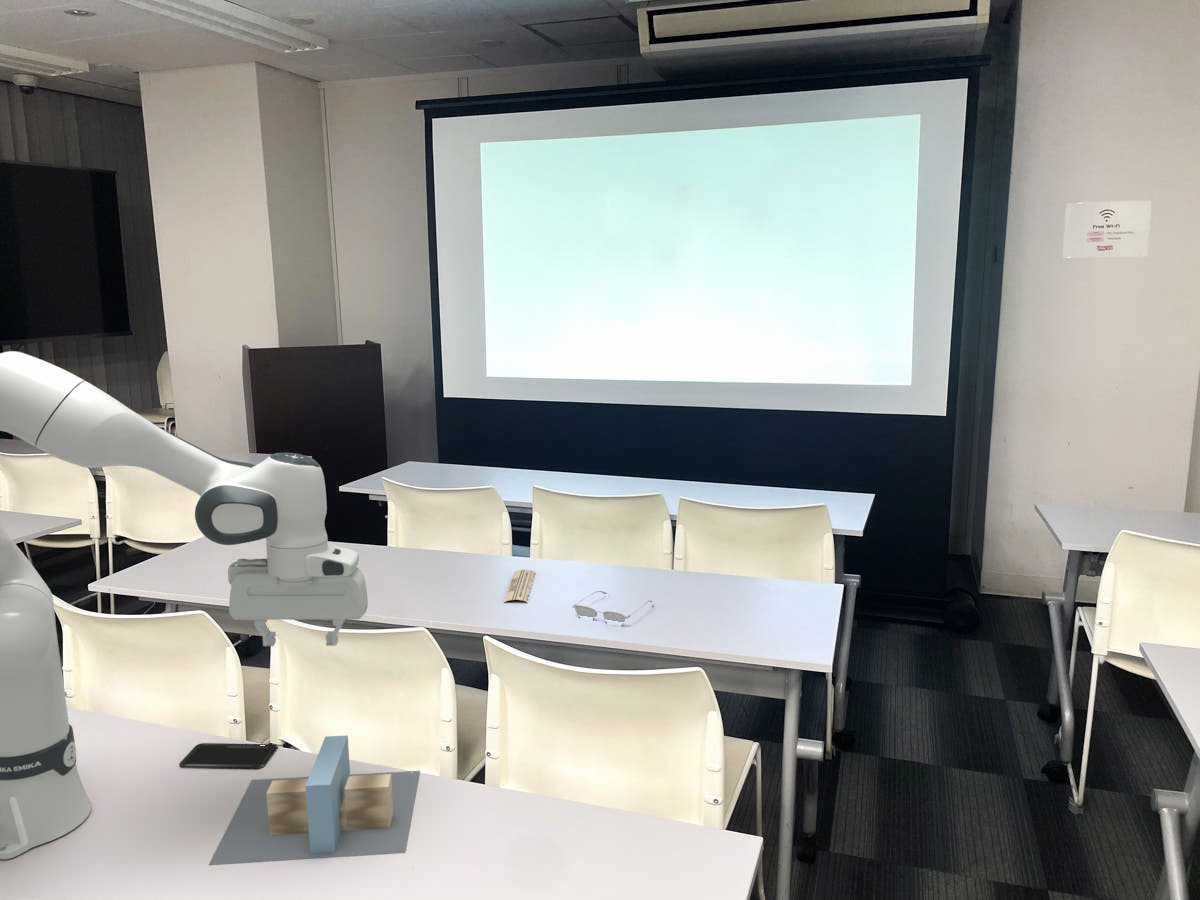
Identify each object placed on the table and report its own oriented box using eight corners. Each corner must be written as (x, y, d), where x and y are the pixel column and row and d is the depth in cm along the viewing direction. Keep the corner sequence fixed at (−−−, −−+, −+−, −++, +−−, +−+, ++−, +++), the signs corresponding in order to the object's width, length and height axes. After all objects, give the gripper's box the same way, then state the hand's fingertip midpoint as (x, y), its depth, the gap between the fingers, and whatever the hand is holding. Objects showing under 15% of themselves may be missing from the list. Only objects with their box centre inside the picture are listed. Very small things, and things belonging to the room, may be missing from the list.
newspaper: (527, 606, 230) (527, 599, 230) (500, 605, 230) (499, 599, 230) (535, 575, 253) (535, 569, 253) (510, 575, 254) (510, 569, 253)
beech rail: (269, 835, 135) (266, 793, 133) (275, 821, 138) (272, 780, 137) (390, 827, 137) (388, 786, 135) (393, 814, 140) (391, 774, 139)
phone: (262, 767, 153) (176, 766, 153) (262, 773, 153) (177, 772, 153) (280, 744, 160) (198, 742, 161) (280, 749, 160) (198, 748, 161)
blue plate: (310, 853, 131) (305, 785, 128) (329, 798, 144) (325, 736, 142) (334, 852, 131) (330, 784, 129) (351, 797, 144) (347, 735, 142)
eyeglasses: (572, 619, 221) (571, 603, 220) (605, 596, 237) (605, 582, 236) (627, 630, 214) (627, 614, 213) (658, 606, 230) (658, 591, 229)
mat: (208, 867, 128) (208, 865, 128) (251, 782, 150) (251, 779, 149) (405, 855, 131) (405, 852, 131) (420, 772, 152) (420, 770, 152)
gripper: (220, 565, 131) (224, 653, 133) (361, 565, 133) (363, 652, 135) (234, 552, 137) (238, 637, 140) (368, 552, 139) (370, 636, 141)
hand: (300, 644), depth 138 cm, fingers open, 8 cm apart
